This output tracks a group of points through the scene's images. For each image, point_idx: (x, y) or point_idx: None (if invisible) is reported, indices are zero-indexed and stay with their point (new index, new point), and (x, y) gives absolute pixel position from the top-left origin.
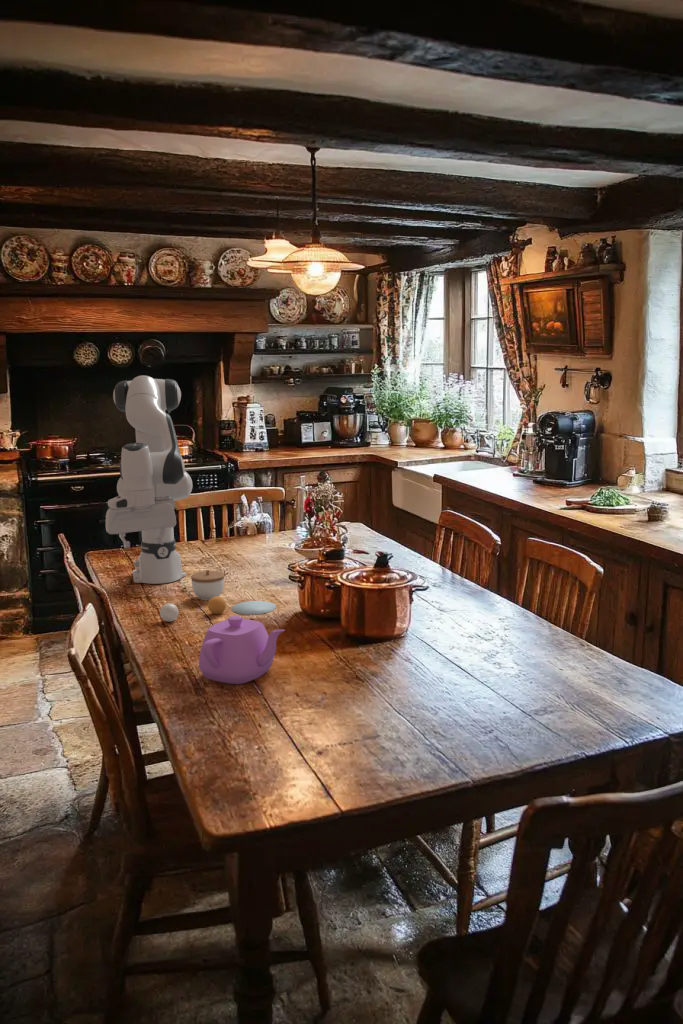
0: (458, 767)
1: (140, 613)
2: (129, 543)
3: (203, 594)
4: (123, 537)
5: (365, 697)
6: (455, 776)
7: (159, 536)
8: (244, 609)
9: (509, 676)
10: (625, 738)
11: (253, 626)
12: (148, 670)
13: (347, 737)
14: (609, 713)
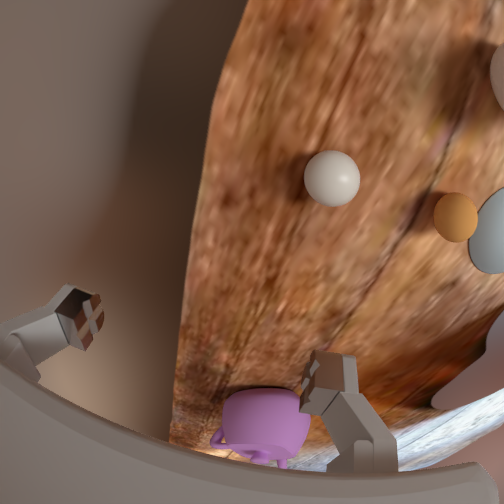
0: None
1: (296, 43)
2: (87, 341)
3: (497, 100)
4: (34, 365)
5: (319, 446)
6: None
7: (334, 415)
8: (492, 229)
9: (408, 453)
10: None
11: (277, 457)
12: (182, 345)
13: None
14: None
